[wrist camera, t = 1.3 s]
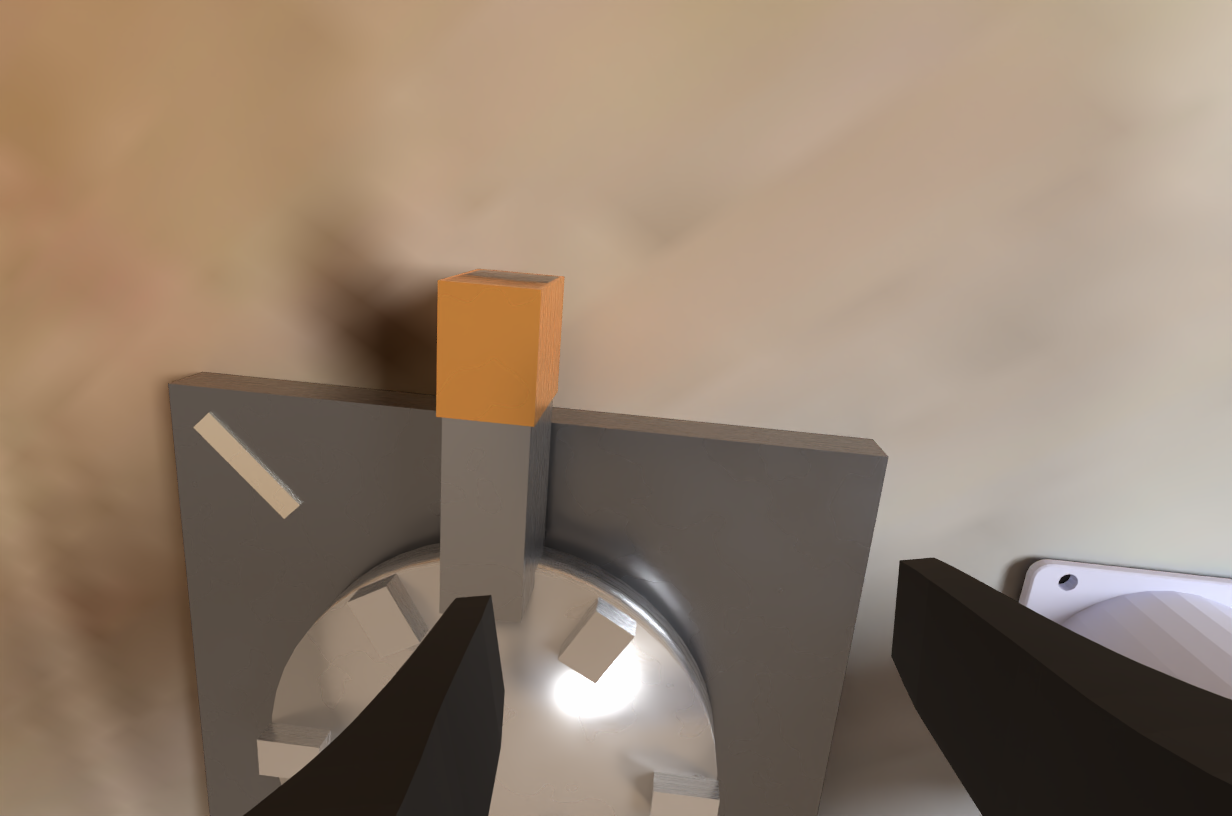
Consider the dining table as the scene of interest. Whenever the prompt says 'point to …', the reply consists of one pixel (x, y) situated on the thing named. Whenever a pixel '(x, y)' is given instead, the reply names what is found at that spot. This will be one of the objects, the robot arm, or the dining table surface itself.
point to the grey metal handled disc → (513, 598)
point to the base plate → (575, 524)
